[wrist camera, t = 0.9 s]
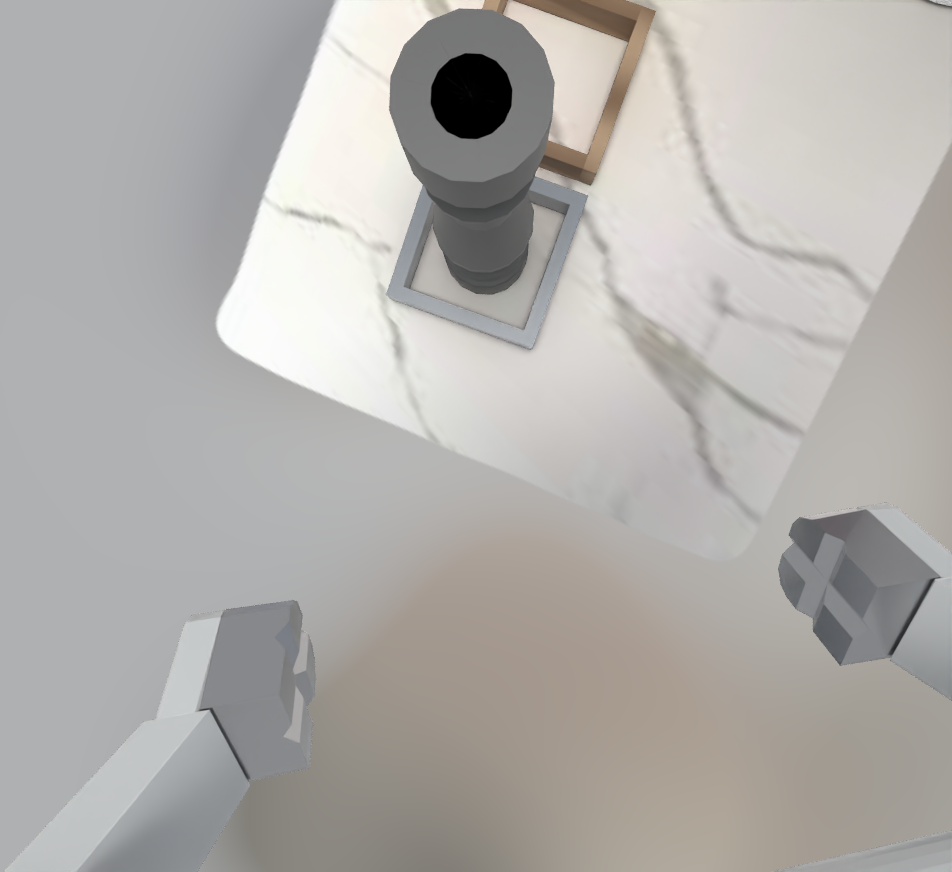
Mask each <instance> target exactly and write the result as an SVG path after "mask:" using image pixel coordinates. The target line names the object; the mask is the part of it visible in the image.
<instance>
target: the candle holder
mask: <svg viewBox="0 0 952 872" xmlns="http://www.w3.org/2000/svg"><path fill="white" fill-rule="evenodd" d="M553 98H554V79H553V76H552V73H551V70H550V67H549V64H548V61H547V58H546V55H545V52H544V49H543V48H542V47H541V46H540V45H539V44H538V42H537V41H536V40H535V39H534V38H533V37H532V35H531V34H530V33H529V32H528V31H527V30H526V28H525V27H524V26H523V25H522V24H520V23H518V22H516V21H514V20H512V19H510V18H508V17H506V16H504V15H502V14H500V13H498V12H496V11H494V10H483V9H457V10H455V11H452V12H450V13H447V14H445V15H442V16H440V17H437V18H435V19H432V20H430V21H428V22H427V23H426V24H425V25H424V26H423V27H422V28H421V29H420V30H419V31H418V32H417V33H416V34H415V35H414V36H413V37H412V38H411V39H410V40H409V41H408V42H407V43H406V44H405V45H404V47H403V49H402V51H401V54H400V56H399V58H398V60H397V63H396V65H395V67H394V70H393V72H392V74H391V80H390V106H389V111H390V114H391V117H392V119H393V122H394V125H395V128H396V131H397V134H398V137H399V139H400V142H401V145H402V147H403V150H404V152H405V154H406V157H407V159H408V162H409V164H410V166H411V169H412V171H413V174H414V175H415V176H416V177H417V178H418V179H419V181H420V182H421V183H422V184H423V185H424V186H425V188H426V191H427V194H428V196H429V197H430V198H431V200H432V201H433V202H434V203H435V205H434V212H433V229H434V232H435V235H436V238H437V240H438V243H439V246H440V248H441V250H442V251H443V254H444V257H445V259H446V262H447V265H448V268H449V270H450V272H451V274H452V276H453V277H454V278H455V279H456V280H457V281H458V283H459V284H460V285H461V286H462V287H464V288H466V289H468V290H470V291H472V292H474V293H476V294H494V293H497V292H500V291H503V290H505V289H507V288H508V287H510V286H511V285H512V284H513V283H514V282H515V281H516V280H517V279H518V278H519V276H520V274H521V272H522V270H523V268H524V266H525V264H526V260H527V256H528V242H529V239H530V237H531V235H532V232H533V216H534V210H533V207H532V204H531V201H530V198H529V195H528V191H529V189H530V187H531V185H532V183H533V180H534V178H535V173H536V171H537V168H538V166H539V164H540V162H541V160H542V158H543V156H544V153H545V150H546V145H547V140H548V135H549V130H550V126H551V121H552V114H553Z"/></svg>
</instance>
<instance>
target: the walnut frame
mask: <svg viewBox="0 0 952 872" xmlns="http://www.w3.org/2000/svg"><path fill="white" fill-rule="evenodd" d="M515 1H517V2H520V3H523V4H526V5H528V6H531V7H534V8H537V9H540V10H542V11H545V12H548V13H551V14H553V15H556V16H559V17H562V18H565V19H567V20H570V21H573V22H576V23H579V24H581V25H584V26H587V27H590V28H592V29H595V30H598V31H601V32H604V33H606V34H609V35H612V36H615V37H617V38H620V39H623V40H626V41H629V43H628V45H627V48H626V51H625V54H624V56H623V59H622V62H621V65H620V67H619V70H618V73H617V76H616V78H615V81H614V84H613V87H612V89H611V92H610V95H609V98H608V100H607V103H606V106H605V109H604V111H603V114H602V117H601V120H600V122H599V125H598V128H597V131H596V133H595V136H594V139H593V142H592V144H591V147H590V150H589V153H588V155H587V154H584V153H581V152H579V151H576V150H573V149H570V148H567V147H565V146H562V145H559V144H556V143H554V142H551V141H548V140H547V145H546V150H545V153H544V156H543V158H542V160H541V162H540V164H539V167H542V168H544V169H547V170H550V171H553V172H555V173H558V174H561V175H564V176H567V177H569V178H572V179H575V180H578V181H580V182H583V183H586V184H589V185H591V184H592V182H593V180H594V177H595V175H596V173H597V170H598V168H599V165H600V162H601V160H602V157H603V154H604V151H605V149H606V146H607V143H608V140H609V138H610V135H611V132H612V129H613V127H614V124H615V121H616V119H617V116H618V113H619V110H620V108H621V105H622V102H623V99H624V97H625V94H626V91H627V89H628V86H629V83H630V80H631V78H632V75H633V72H634V69H635V67H636V64H637V61H638V59H639V56H640V53H641V50H642V48H643V45H644V42H645V39H646V37H647V34H648V31H649V29H650V26H651V23H652V20H653V18H654V15H655V12H656V11H654V10H651V9H649V8H646V7H643V6H640V5H637V4H635V3H632V2H629V1H626V0H515ZM506 3H507V0H485V2H484V5H483V8H482V9H483V10H494V11H496V12H498V13H500V14H502V15H503V12H504V9H505V6H506Z"/></svg>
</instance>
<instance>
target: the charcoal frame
mask: <svg viewBox="0 0 952 872" xmlns="http://www.w3.org/2000/svg"><path fill="white" fill-rule="evenodd" d="M528 195H529V198H530V201H531V202H533V203H536V204H538V205H541V206H544V207H547V208H549V209H552V210H555V211H558V212H561V213H563V214H566V216H565V219H564V221H563V224H562V227H561V230H560V232H559V235H558V238H557V241H556V243H555V246H554V249H553V252H552V254H551V257H550V260H549V263H548V265H547V268H546V271H545V274H544V276H543V279H542V282H541V285H540V287H539V290H538V293H537V296H536V298H535V301H534V304H533V307H532V309H531V312H530V315H529V318H528V320H527V323H526V326H525V329H524V330H522V329H519V328H516V327H514V326H511V325H508V324H505V323H503V322H500V321H497V320H494V319H492V318H489V317H486V316H483V315H480V314H478V313H475V312H472V311H469V310H467V309H464V308H461V307H458V306H456V305H453V304H450V303H447V302H445V301H442V300H439V299H436V298H433V297H431V296H428V295H425V294H422V293H420V292H417V291H414V290H411V289H410V286H411V283H412V280H413V277H414V274H415V271H416V268H417V265H418V262H419V259H420V256H421V253H422V251H423V248H424V245H425V242H426V239H427V236H428V233H429V230H430V227H431V224H432V221H433V212H434V205H435V203H434V202H433V201H432V200H431V198H430V197H429V196H428V194H427V191H426V188H425V186H424V185H423V186H422V189H421V192H420V195H419V198H418V201H417V204H416V207H415V210H414V213H413V216H412V219H411V222H410V225H409V228H408V231H407V234H406V237H405V240H404V243H403V246H402V249H401V252H400V255H399V258H398V261H397V264H396V267H395V270H394V273H393V276H392V279H391V282H390V285H389V288H388V291H387V294H386V295H387V296H388V297H389V298H391V299H392V300H394V301H397V302H400V303H403V304H405V305H408V306H411V307H414V308H417V309H419V310H422V311H425V312H428V313H430V314H433V315H436V316H439V317H441V318H444V319H447V320H450V321H452V322H455V323H458V324H461V325H464V326H466V327H469V328H472V329H475V330H477V331H480V332H483V333H486V334H488V335H491V336H494V337H497V338H499V339H502V340H505V341H508V342H511V343H513V344H516V345H519V346H522V347H524V348H527V349H530V350H531V349H532V348H533V345H534V342H535V340H536V337H537V334H538V331H539V329H540V326H541V323H542V320H543V318H544V315H545V312H546V310H547V307H548V304H549V301H550V299H551V296H552V293H553V290H554V288H555V285H556V282H557V280H558V277H559V274H560V271H561V269H562V266H563V263H564V260H565V258H566V255H567V252H568V250H569V247H570V244H571V241H572V239H573V236H574V233H575V230H576V228H577V225H578V222H579V220H580V217H581V214H582V211H583V209H584V206H585V203H586V200H587V198H588V195H585V194H582V193H579V192H577V191H574V190H571V189H568V188H565V187H563V186H560V185H557V184H554V183H552V182H549V181H546V180H543V179H541V178H538V177H535V178H534V180H533V183H532V185H531V187H530V189H529V191H528Z"/></svg>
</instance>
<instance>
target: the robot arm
mask: <svg viewBox="0 0 952 872" xmlns="http://www.w3.org/2000/svg"><path fill="white" fill-rule="evenodd" d="M930 1H933V2H936V3H939V4H943V5H947V6H952V0H930ZM789 536H790V538H791V539H792V541H793V542H794V544H792V545H791V546H790V547H789V548H788V549H787V550H786V551H785V552H784V553H783V554H782V557H781V561H780V564H779V568H778V570H779V576H780V583H781V586H782V588H783V590H784V592H785V595H786V597H787V598H788V599H789V601H790V602H791V603H792V605H793V606H794V607H795V609H797V610H799V611H800V612H802V613H804V614H806V615H808V616H810V617H811V618H813V632H814V633H815V634H816V636H817V637H818V638H819V639H820V641H821V642H822V643H823V644H824V646H825V647H826V648H827V649H828V651H829V652H830V653H831V655H832V656H833V657H834V658H835V660H836V661H837V662H838V663H839V665H840V666H841V665H847V664H853V663H860V662H866V661H872V660H878V659H884V658H890V657H891V659H890V661H892V662H893V663H895V664H896V665H898V666H899V667H901V668H902V669H904V670H905V671H907V672H908V673H910V674H911V675H913V676H915V677H916V678H918V679H919V680H921V681H922V682H924V683H925V684H927V685H929V686H930V687H932V688H933V689H935V690H936V691H938V692H939V693H941V694H942V695H944V696H946V697H947V698H949V699H950V700H952V553H951V552H950V551H949V550H947V549H946V548H945V547H944V546H943V545H941V544H940V543H939V542H938V541H937V540H936V539H934V538H933V537H932V536H931V535H930V534H929V533H927V532H926V531H925V530H924V529H923V528H922V527H920V526H919V525H918V524H917V523H916V522H914V521H913V520H912V519H911V518H910V517H909V516H907V515H906V514H905V513H904V512H903V511H901V510H900V509H899V508H898V507H896V506H894V505H891V504H888V503H880V504H875V505H869V506H863V507H857V508H849V509H844V510H838V511H832V512H827V513H821V514H815V515H809V516H804V517H799V518H798V519H797V520H796V521H795V522H794V523H793V524H792V527H791V530H790V533H789ZM301 627H302V613H301V610H300V607H299V605H298V602H297V601H294V600H291V601H284V602H277V603H270V604H262V605H255V606H247V607H240V608H233V609H226V610H222V611H215V612H208V613H201V614H194V615H191V616H190V618H189V619H188V620H187V622H186V623H185V625H184V627H183V630H182V633H181V636H180V640H179V643H178V646H177V650H176V653H175V656H174V659H173V663H172V666H171V669H170V672H169V676H168V679H167V682H166V685H165V689H164V692H163V695H162V698H161V702H160V705H159V708H158V712H157V715H156V718H155V719H153V720H148V721H144V722H143V723H142V724H141V725H140V726H139V727H138V729H136V730H135V732H134V733H133V734H132V735H131V736H130V737H129V738H128V739H127V740H126V741H125V742H124V743H123V744H122V745H121V746H120V748H119V749H118V750H117V751H116V752H115V753H114V754H113V755H112V756H111V757H110V758H109V759H108V761H106V763H105V764H104V765H103V766H102V767H101V768H100V769H99V770H98V771H97V772H96V773H95V775H94V776H92V778H91V779H90V780H89V781H88V782H87V783H86V784H85V785H84V786H83V787H82V788H81V790H79V792H78V793H77V794H76V795H75V796H74V797H73V798H72V799H71V800H70V801H69V802H68V803H67V804H66V806H64V808H63V809H62V810H61V811H60V812H59V813H58V814H57V815H56V816H55V817H54V818H53V819H52V820H51V822H50V823H49V824H48V825H47V826H46V827H45V828H44V829H43V830H42V831H41V832H40V833H39V834H38V835H37V837H36V838H35V839H34V840H33V841H32V842H31V843H30V844H29V845H28V846H27V847H26V848H25V849H24V850H23V852H22V853H21V854H20V855H19V856H18V857H17V858H16V859H15V860H14V861H13V862H12V863H11V864H10V865H9V866H8V868H7V869H6V870H5V871H4V872H198V870H199V869H200V867H201V865H202V864H203V862H204V860H205V859H206V857H207V855H208V854H209V852H210V850H211V849H212V847H213V845H214V844H215V842H216V841H217V838H218V837H219V836H220V834H221V832H222V831H223V829H224V827H225V825H226V824H227V822H228V821H229V819H230V817H231V816H232V814H233V812H234V811H235V809H236V808H237V806H238V804H239V803H240V801H241V799H242V798H243V796H244V794H245V793H246V791H247V790H248V788H249V786H250V784H249V781H254V780H258V779H263V778H267V777H272V776H277V775H281V774H286V773H290V772H295V771H299V770H303V769H308V768H310V757H311V742H312V728H313V723H312V720H311V717H310V714H309V712H308V709H307V706H308V704H309V703H310V702H311V700H312V699H313V698H314V696H315V683H316V682H315V681H316V674H315V657H314V652H313V647H312V643H311V640H310V636H309V634H307V633H306V632H304V631H302V630H301ZM773 872H952V830H950V831H946V832H941V833H937V834H933V835H929V836H924V837H920V838H916V839H911V840H907V841H902V842H898V843H894V844H889V845H885V846H881V847H876V848H872V849H868V850H863V851H859V852H855V853H850V854H846V855H842V856H837V857H833V858H829V859H825V860H821V861H816V862H811V863H807V864H803V865H798V866H794V867H790V868H785V869H781V870H777V871H773Z"/></svg>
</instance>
